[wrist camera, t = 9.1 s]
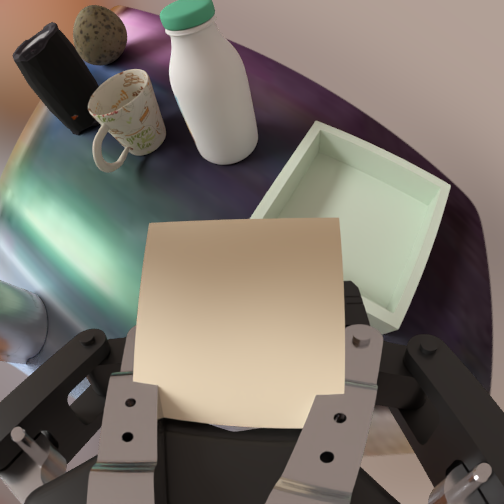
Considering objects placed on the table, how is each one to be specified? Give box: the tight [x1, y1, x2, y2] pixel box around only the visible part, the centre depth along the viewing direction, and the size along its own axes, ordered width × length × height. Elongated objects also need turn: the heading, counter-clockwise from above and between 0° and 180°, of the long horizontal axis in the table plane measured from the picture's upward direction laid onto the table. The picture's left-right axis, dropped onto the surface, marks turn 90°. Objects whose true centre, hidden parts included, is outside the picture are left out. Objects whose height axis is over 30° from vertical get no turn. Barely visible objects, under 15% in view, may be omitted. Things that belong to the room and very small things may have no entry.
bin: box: [250, 121, 451, 335], centre depth 29 cm, size 16×16×5 cm
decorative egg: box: [73, 5, 127, 65], centre depth 44 cm, size 11×11×15 cm
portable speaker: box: [13, 22, 100, 135], centre depth 35 cm, size 9×9×20 cm
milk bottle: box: [160, 0, 258, 165], centre depth 28 cm, size 8×8×20 cm
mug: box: [88, 69, 166, 173], centre depth 35 cm, size 8×13×10 cm, turn 163°
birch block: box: [133, 218, 345, 428], centre depth 11 cm, size 4×4×10 cm
